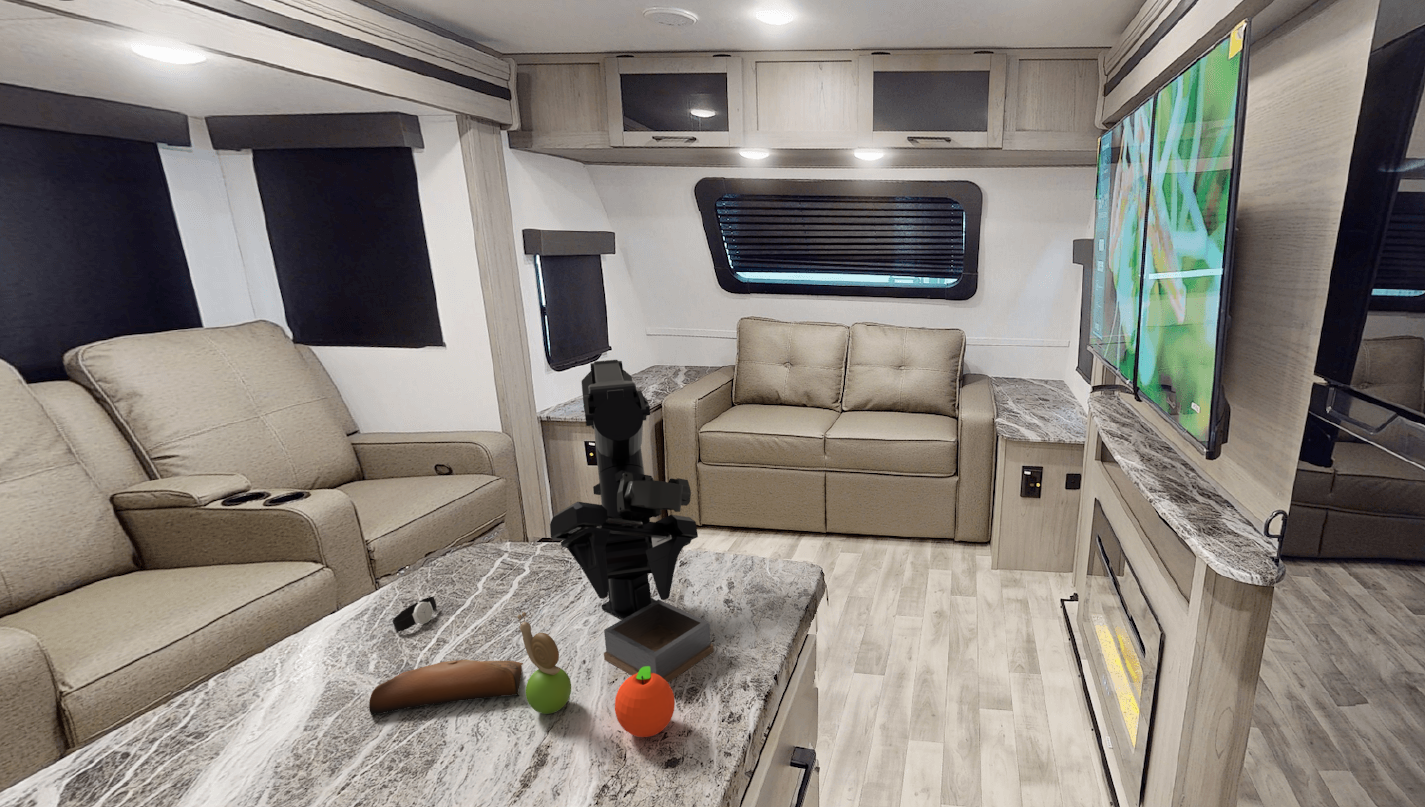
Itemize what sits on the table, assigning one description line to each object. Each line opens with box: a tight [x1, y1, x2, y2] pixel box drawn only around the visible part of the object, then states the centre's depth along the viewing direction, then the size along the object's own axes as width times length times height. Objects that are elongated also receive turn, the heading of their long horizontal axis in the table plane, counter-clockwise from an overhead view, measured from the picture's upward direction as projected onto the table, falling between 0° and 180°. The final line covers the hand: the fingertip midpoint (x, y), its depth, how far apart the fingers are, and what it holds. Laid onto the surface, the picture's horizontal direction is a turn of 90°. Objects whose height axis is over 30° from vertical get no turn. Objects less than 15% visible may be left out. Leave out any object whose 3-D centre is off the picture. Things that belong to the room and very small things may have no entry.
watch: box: [391, 596, 438, 633], centre depth 107 cm, size 8×5×4 cm, turn 161°
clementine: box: [614, 666, 676, 738], centre depth 80 cm, size 8×7×7 cm
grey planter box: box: [603, 599, 715, 684], centre depth 94 cm, size 11×11×4 cm
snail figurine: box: [516, 611, 572, 715], centre depth 84 cm, size 5×6×12 cm
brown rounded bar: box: [368, 658, 524, 716], centre depth 89 cm, size 18×7×7 cm
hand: (635, 598), depth 80 cm, fingers open, 9 cm apart
